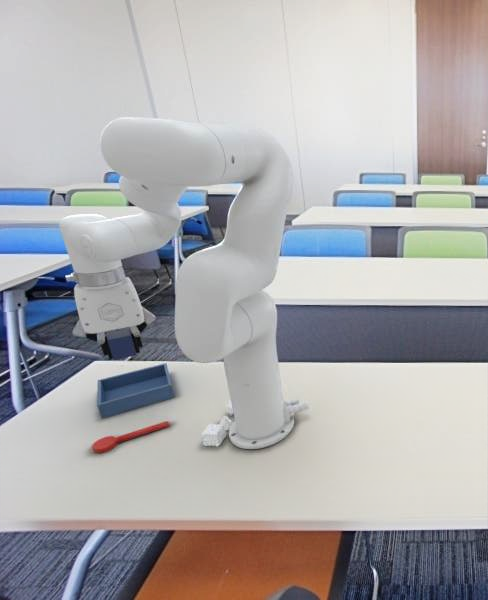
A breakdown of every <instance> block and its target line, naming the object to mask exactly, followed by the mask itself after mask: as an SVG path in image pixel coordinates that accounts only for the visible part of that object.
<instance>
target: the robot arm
mask: <svg viewBox="0 0 488 600" xmlns="http://www.w3.org/2000/svg"><path fill="white" fill-rule="evenodd" d="M99 148H100V152H101V155H102V157H103V160H104V161H105V163H106V164H107V166H108V167H109V168H110V169H111V170H112V171H114V173H116V174H118V176H120V177H119V180H118V187H119V191H120V192H121V194H122V195H123V197H124V198H125V199H126V200H127V201H128V202H129V203H131V204H132V205H134V206H135V207H137V208H138V209H141V210H142V212H140V213H138V214H132V215H126V216H121V217H114V218H110V219H108V218H107V217H106V216H104V215H102V214H95V213H83V214H73V215H68V216H64V217H63V218H61V219H60V220H59V223H58V226H59V230H60V233H61V237H62V239H63V243H64V246H65V249H66V252H67V255H68V258H69V261H70V264H71V266H72V271H73V272H72V273H70V274H65V276H64V277H65V281H66V282H67V283H69V282H73V283H76V284H75V286H74V287H73V294H74V302H75V305H76V309H77V310H76V311H77V314H78V317H79V319H78V321H77V322H76V324H75V326H74V328H73V330H72V335H73V336H76V337H81V338H86V339H88V340H91V341H94V342H96V343H97V344H98V345H99V346H100V347H101V350H102V354H103V356H107V357H108V359H109V360H110V361H111V360H113V357H112V354H111V351H110V347H109V344H108V341H107V335H106V332H107V333H108V332H113V331H118V330H123V329H130V330H131V333H132V334H131V335H132V340H133V344H134V347H135V351H136V354H140V353H141V348H143V347H144V345H143V342H142V338H141V335H142V333H143V332H144V330H146V329H147V327H148V326H149V325H151V324H152V323H154V322H155V320H156V319H157V318H156V316H155V314H153V313H152V312H151V311H149V310H148V309H146V308H145V307H144V306H143V305H142V303H141V300H140V297H139V294H138V292H137V290H136V288H135V285H134V283H133V282H132V280H131V278H130V277H129V276H126V274H125V271H124V267H123V263H122V260H124V259H129V258H131V257H134V256H138V255H141V254H145V253H150V252H153V251H157V250H159V249H161V248H163V247H165V246H167V244H168V243H169V242H170V241H171V240H172V239H173V238H174V236H175V235H176V234H177V232H178V231H179V229H180V228H181V225H182V211H181V207H180V204H179V203H178V202H179V201H180V199H181V198H182V196H183V195H184V194H185V193H186V191H187V190H188V188H189V187H192V188H193V187H194V188H195V187H196V188H197V187H210V186H218V185H225V184H234V183H239V182H241V187H240V189H239V190H238V192H237V193H236V195H235V197H234V198H233V201H232V202H231V204H230V206H229V209H228V213H227V219H226V220H227V221H226V229H225V235H224V238H223V240H222V241H221V242H220V243H217V244H215V245H213V246H210V247H207V248H203V249H201V250H198V251H196V252H193V253H192V254H190V255H189V256H188V257H186V258H185V259H184V260H183V262H182V263H181V265H180V266H179V269H178V271H177V275H176V281H175V282H176V283H175V301H174V302H175V303H174V306H175V307H174V336H175V339H176V343H177V345H178V347H179V349H180V351H181V352H182V354H184V355H185V356H186V358H188V359H189V360H191V361H193V362H196V363H199V364H210V363H214V362H218V361H220V360H222V359H223V368H224V373H225V378H226V384H227V387H228V392H229V397H230V401H231V403H232V408H233V413H234V414H233V417H234V421H232V422H233V423H232V424H231V426H230V428H229V430H228V437H229V441H230V443H232V445H234V446H235V447H237V448H240V449H243V450H257V449H259V450H260V449H263V448H267V447H270V446H273V445H275V444H277V443H278V442H280V441H282V440H283V439H285V438H286V437H287V436H288V435H289V434H290V433H291V432H292V430H293V429H294V425H295V417H294V416H295V414H297V413H302V412H303V411H306V410H308V409H309V404H308V402H307V400H303V401H301V402H299V399H298V398H297V397H295V398H293V399H290V400H288V401H287V400H284V394H283V386H282V379H281V372H280V366H279V357H278V351H277V350H278V348H277V327H278V309H277V305H276V303H275V301H274V299H273V298H272V296H271V295H270V293H268V292H267V291H265V290H264V289H266V288H267V287H269V286H270V285H271V284H272V283H273V281H274V280H275V278H276V275H277V272H278V265H279V261H280V256H281V255H280V254H281V250H282V242H283V238H284V229H285V225H286V220H287V215H288V210H289V207H290V203H291V198H292V194H293V187H294V172H293V167H292V164H291V161H290V158H289V155H288V153H287V151H286V150H285V148H284V147H283V145H282V144H281V143H280V141H279V140H278V139H277V138H276V137H275V136H273V134H271V133H270V132H268V131H266V130H264V129H262V128H260V127H257V126H254V125H250V124H242V123H228V122H225V123H224V122H197V121H194V122H193V121H181V120H177V119H169V118H154V117H153V118H151V117H131V116H130V117H129V116H128V117H127V116H126V117H118V118H115V119H113V120H111V121H109V122H108V123H107V124H106V125H105V127H104V128H103V129H102V132H101V134H100V139H99Z"/></svg>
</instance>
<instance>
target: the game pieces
mask: <svg viewBox="0 0 488 600" xmlns="http://www.w3.org/2000/svg"><path fill="white" fill-rule="evenodd" d="M224 407H225V410H226V413H228V414H229V416H230V417H232V416H233V415H234V413H233V408H232V403H231V400H228V403H227V404H226V405H224ZM233 422H234V421H232V420H231V419H230V418H229V417H228V416H227V415H223V416H222V417H221V419H220V422H219V423H217V424H216V423H209V424H207V426H206V427H205V429H203V431H202V432H201V434H200V437H201V439H202V445H203V446H205V447H211V446H212V447H220V446H221V444H222V443H223V441H224V440H225V439H226V437H227V433H226V431H229V428H230V426H231V424H232V423H233Z"/></svg>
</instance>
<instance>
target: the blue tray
mask: <svg viewBox="0 0 488 600" xmlns="http://www.w3.org/2000/svg"><path fill="white" fill-rule="evenodd" d="M96 395H97V396H96V399H97V400H96V406H97V408H98V409H97V410H98V412H99V415H100V417H101V419H105V418H109V417H112V416H116V415H119V414H122V413H125V412H129V411H133V410H136V409H140V408H142V407H146V406H149V405H152V404H156V403H159V402H163V401H166V400H170V399H173V398H176V396H175V391H174V388H173V383H172V379H171V375H170V371H169V368H168V364H167V362H165V363H161V364H157V365H153V366H149V367H145V368H141V369H137V370H133V371H129V372H125V373H121V374H118V375H113V376H109V377H105V378H101V379H98V380H97V394H96Z"/></svg>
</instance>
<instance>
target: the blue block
mask: <svg viewBox="0 0 488 600" xmlns="http://www.w3.org/2000/svg"><path fill="white" fill-rule="evenodd" d="M131 334H132V331H131V330H130V328H123V329H118V330H113V331H108V332H107V333H106V337H107V341H108V344H109V347H110V351H111V354H112V357H113V359H112V360H113V361H117V360H121V359H126V358H132V357H135V356H137V354H138V353H136V351H135V347H134V344H133V340H132V335H131Z"/></svg>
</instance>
